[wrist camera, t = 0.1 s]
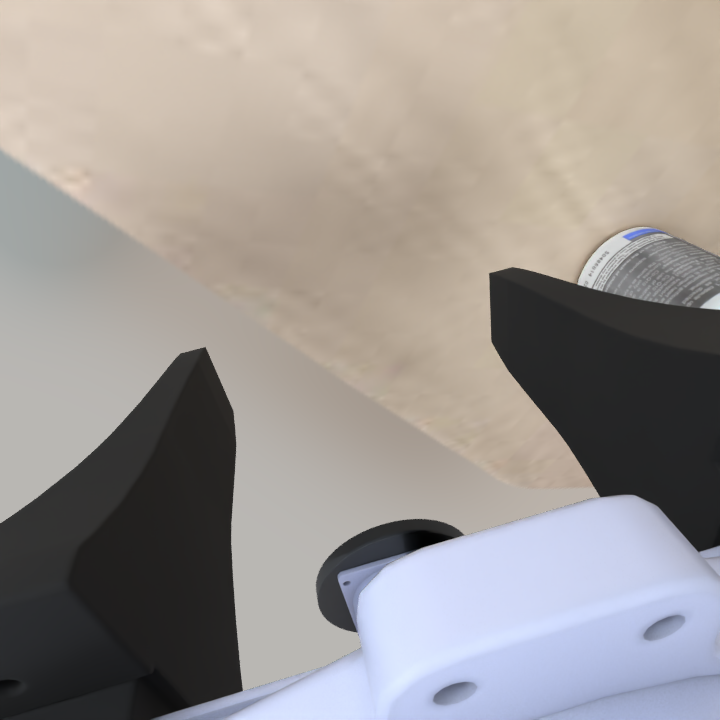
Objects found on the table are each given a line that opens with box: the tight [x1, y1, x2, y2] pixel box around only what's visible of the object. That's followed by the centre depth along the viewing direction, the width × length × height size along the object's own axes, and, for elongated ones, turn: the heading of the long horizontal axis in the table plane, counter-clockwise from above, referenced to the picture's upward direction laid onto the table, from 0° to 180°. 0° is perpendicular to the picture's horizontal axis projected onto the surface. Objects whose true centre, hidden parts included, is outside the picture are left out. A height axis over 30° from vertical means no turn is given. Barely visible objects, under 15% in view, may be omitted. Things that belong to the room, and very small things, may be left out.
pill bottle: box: [578, 227, 720, 310], centre depth 19 cm, size 5×5×8 cm
